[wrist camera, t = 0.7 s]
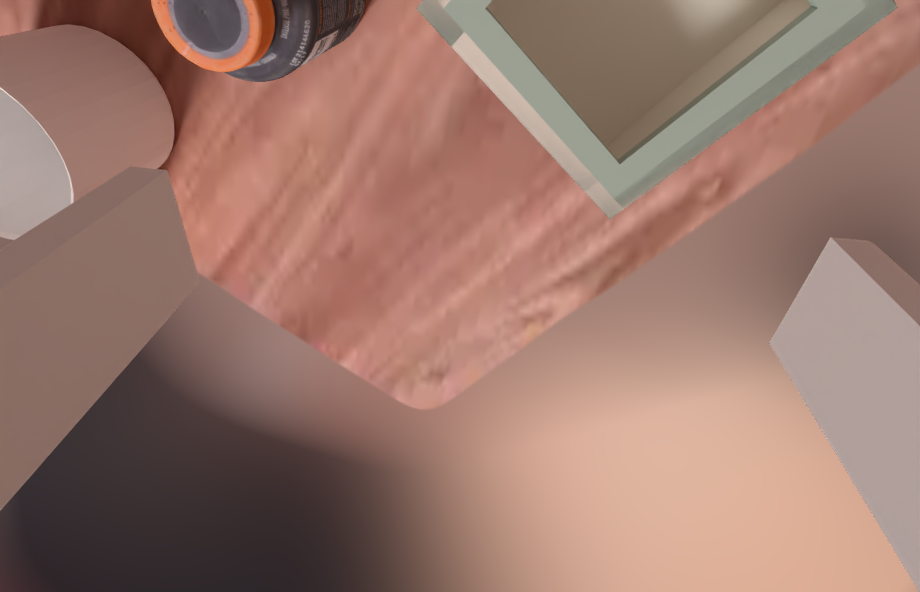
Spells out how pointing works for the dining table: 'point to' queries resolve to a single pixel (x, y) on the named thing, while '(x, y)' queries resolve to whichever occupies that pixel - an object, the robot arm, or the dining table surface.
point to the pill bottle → (256, 32)
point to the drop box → (642, 73)
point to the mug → (72, 120)
